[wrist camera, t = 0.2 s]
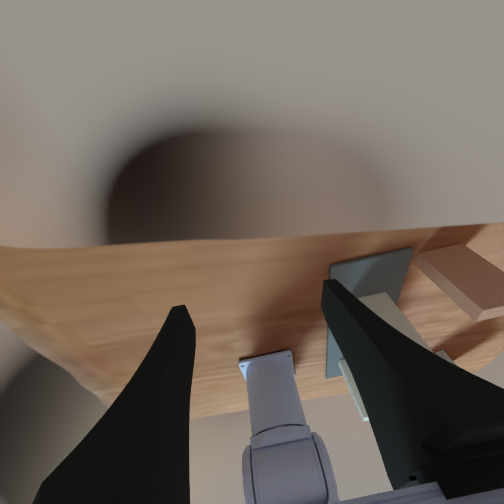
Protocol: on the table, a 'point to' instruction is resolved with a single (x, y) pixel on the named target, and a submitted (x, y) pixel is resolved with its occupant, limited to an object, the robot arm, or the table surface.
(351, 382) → the domino
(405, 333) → the domino
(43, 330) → the table surface
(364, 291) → the mat
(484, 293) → the terracotta domino
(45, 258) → the table surface
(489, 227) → the table surface
